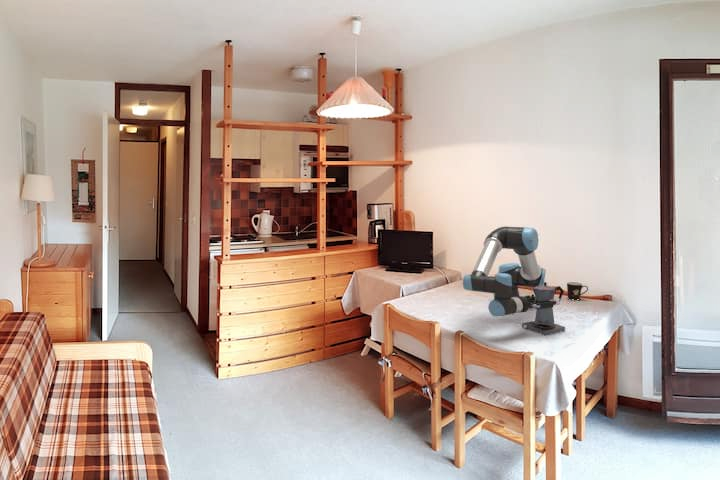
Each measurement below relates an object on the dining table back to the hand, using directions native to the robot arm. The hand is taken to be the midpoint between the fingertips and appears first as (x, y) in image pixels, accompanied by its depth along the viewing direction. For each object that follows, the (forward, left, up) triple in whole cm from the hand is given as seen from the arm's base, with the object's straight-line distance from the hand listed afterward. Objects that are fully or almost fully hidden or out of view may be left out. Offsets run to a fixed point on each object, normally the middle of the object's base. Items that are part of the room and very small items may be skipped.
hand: (551, 299), depth 229 cm
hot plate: (+5, 0, -14) cm, 15 cm away
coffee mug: (-59, -31, -15) cm, 68 cm away
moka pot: (+4, 0, -11) cm, 12 cm away
